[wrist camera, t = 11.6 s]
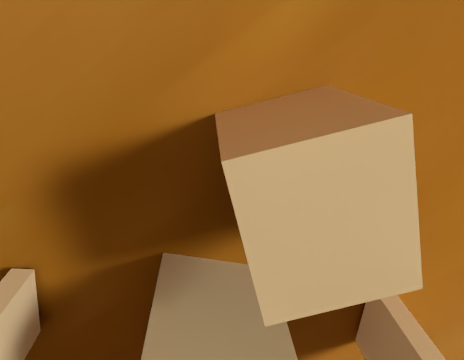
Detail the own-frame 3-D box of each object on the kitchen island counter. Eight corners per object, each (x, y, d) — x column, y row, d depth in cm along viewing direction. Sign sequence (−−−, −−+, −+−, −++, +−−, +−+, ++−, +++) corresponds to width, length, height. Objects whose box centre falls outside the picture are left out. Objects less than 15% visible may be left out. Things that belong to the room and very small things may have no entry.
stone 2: (343, 198, 13) (422, 288, 8) (243, 223, 13) (265, 326, 8) (326, 84, 11) (412, 113, 7) (214, 113, 11) (221, 161, 7)
